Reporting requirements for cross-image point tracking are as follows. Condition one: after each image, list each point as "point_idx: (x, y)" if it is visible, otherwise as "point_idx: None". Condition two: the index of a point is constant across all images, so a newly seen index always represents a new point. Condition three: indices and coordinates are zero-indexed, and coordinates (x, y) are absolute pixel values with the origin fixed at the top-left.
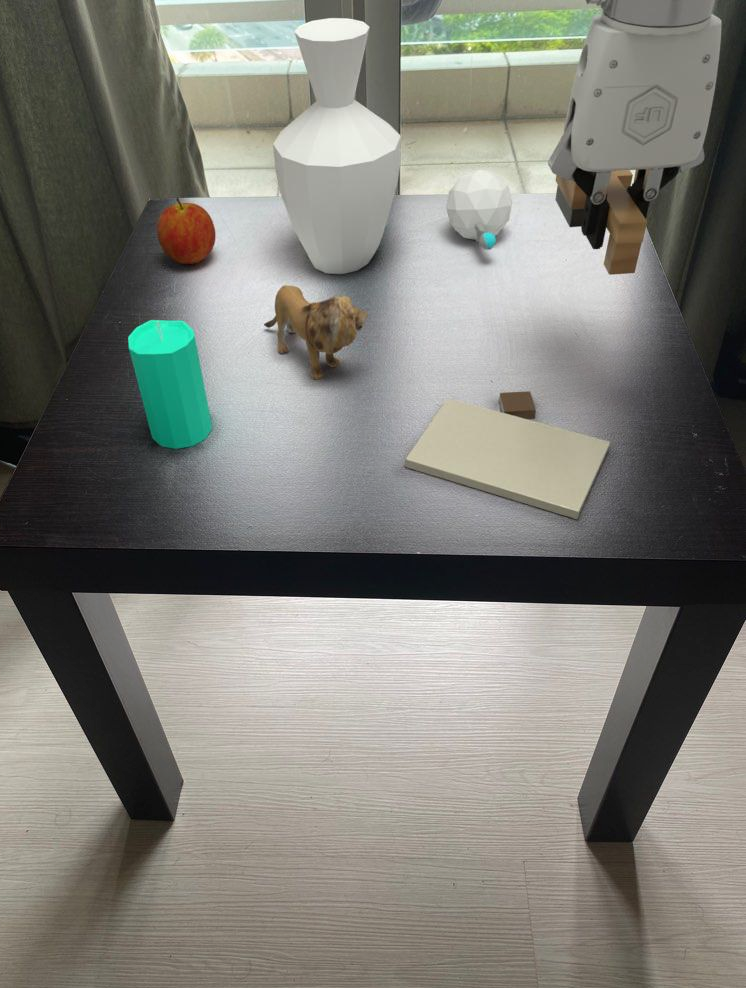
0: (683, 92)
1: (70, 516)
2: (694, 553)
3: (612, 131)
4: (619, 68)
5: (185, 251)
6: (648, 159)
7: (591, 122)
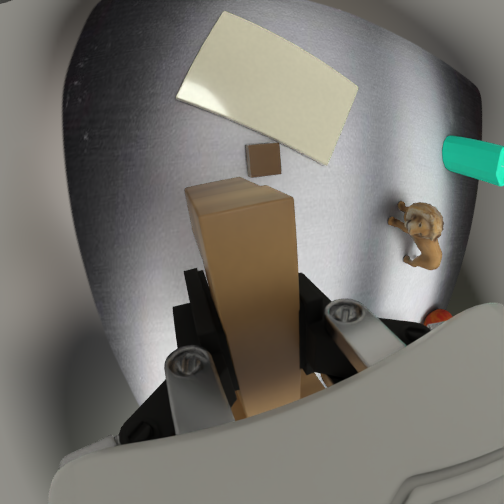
0: None
1: (469, 96)
2: None
3: None
4: None
5: (441, 311)
6: (313, 439)
7: None
